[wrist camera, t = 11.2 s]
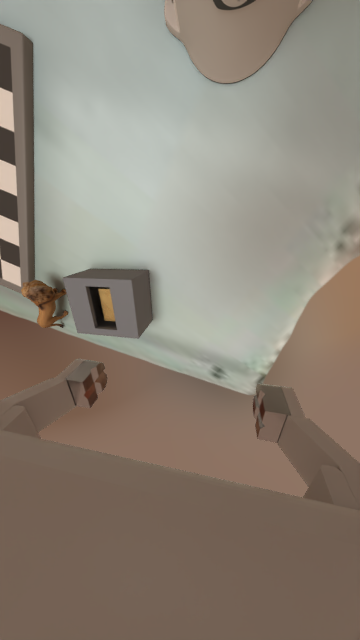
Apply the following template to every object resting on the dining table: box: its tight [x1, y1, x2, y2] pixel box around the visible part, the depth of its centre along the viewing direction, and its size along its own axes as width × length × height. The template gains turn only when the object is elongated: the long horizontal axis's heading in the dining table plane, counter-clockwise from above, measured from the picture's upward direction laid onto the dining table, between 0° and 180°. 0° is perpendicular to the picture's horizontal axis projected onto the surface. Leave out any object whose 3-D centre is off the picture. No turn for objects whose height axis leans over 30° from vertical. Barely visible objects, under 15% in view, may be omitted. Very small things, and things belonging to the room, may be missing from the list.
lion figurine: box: [21, 280, 68, 328], centre depth 47 cm, size 15×5×9 cm, turn 173°
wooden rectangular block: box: [98, 287, 115, 321], centre depth 43 cm, size 7×2×6 cm, turn 1°
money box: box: [63, 269, 153, 339], centre depth 42 cm, size 12×14×9 cm
